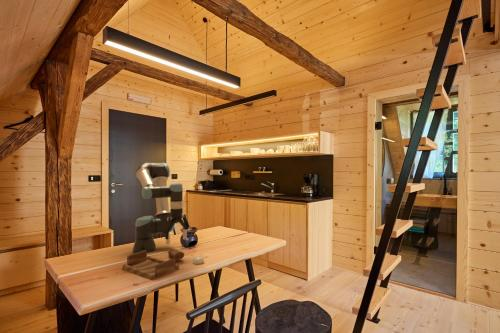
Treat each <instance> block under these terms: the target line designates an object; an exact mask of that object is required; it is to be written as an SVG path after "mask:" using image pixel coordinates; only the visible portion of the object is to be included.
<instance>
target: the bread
mask: <svg viewBox="0 0 500 333" xmlns="http://www.w3.org/2000/svg"><path fill="white" fill-rule="evenodd" d="M167 254H168V255H169V256H170V257H172V259H173V258H174V259H175V262H177V261H179V262H180V260H182V259H184V256H185V253H184V251H183V252H182V251H180V250H178V249H175V248H170V249H168V251H167Z"/></svg>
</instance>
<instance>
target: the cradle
mask: <svg viewBox="0 0 500 333" xmlns="http://www.w3.org/2000/svg"><path fill="white" fill-rule="evenodd" d="M121 269H122V270H123V271H126V272H129V273H131V274H135V275H138V276H141V277H143V278H145V279H149V280H152V281H153V280H156V279H158V278H160V277H163V276H165V275H168V274H171V273H173V272H176V271H178V270H180V265H179V264H177V263H176V260H175V259H174V258H173V257H172V258H170V259H168V260H163V259H160V258H156V257H153V256H149V255H148V253H147V251H146V250H144V251H141V252H138V253H132V254H129V255H127V256H126V264H125V263H124V264H122V268H121Z"/></svg>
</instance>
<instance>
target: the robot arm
mask: <svg viewBox="0 0 500 333" xmlns="http://www.w3.org/2000/svg"><path fill="white" fill-rule="evenodd" d="M170 175H171V171H170V166H169V164H168V163H166V162H144V163H141V164H140V165H138V167H137V168H136V170H135V177H136V178H137V179H138V180H139V182H140V184H141V186H142V187H141V196H142V197H141V198H143V199H146V200H151V199H155V205H156V214H154V215H155V216H153V215H145V216H141V217H138V218H136V220H135V225H134V226H135V227H134V228H135V240H134V244H133V247H132V253H133V254H135V253H138V252H141V251H144V250H146V251H147V254H148V253H151V252H155V250H156V249H157V245H156V243H155V240H154V235H157V234H164V238H165V245H168V246H169V245H171V232H173V231H174V229H175V226H176V224H178V223H179V224H180V226H182V240H188V239H187V238H188V236H187V235H188V230H189V228H191V226H190V223H189V222H188V218H187V214H185V213H183V212H184V211H183V210H184V209H183V205H184V204H183V196H184V194H183V184H182V183H179V182H178V183H176V182H175V183H170V185H167V180H168V179H169V178H170V177H171V176H170ZM169 198H170V200H169ZM169 202H170V203H169ZM169 208H170V209H169Z"/></svg>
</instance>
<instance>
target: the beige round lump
mask: <svg viewBox="0 0 500 333" xmlns="http://www.w3.org/2000/svg"><path fill="white" fill-rule="evenodd" d="M204 259H205V258H204V256H203V255H202V256H201V255H198V256H197V255H196V256H193V257H192V264H193V265H202V264H203V263H204V262H205V260H204Z"/></svg>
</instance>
